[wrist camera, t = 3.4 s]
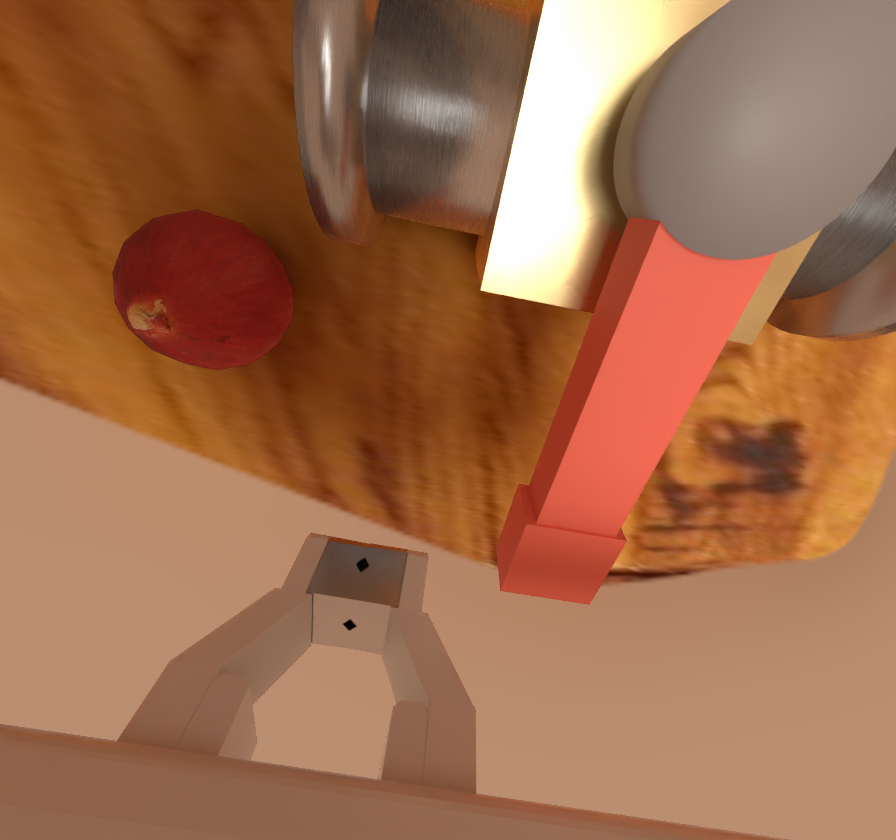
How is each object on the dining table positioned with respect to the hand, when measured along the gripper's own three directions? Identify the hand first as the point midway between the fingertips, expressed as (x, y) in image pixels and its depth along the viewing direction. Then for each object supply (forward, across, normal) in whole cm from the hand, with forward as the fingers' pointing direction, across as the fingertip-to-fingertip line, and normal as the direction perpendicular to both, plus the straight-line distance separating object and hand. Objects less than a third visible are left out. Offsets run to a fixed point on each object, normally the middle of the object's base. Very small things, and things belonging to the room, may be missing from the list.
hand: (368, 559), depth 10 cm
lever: (+3, -6, -5) cm, 8 cm away
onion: (+12, +8, -3) cm, 15 cm away
